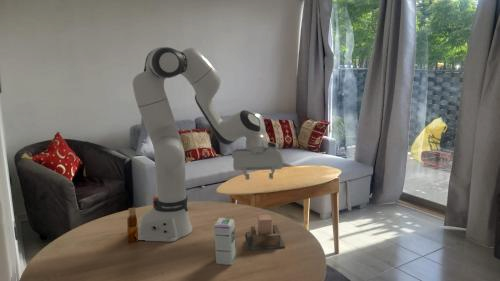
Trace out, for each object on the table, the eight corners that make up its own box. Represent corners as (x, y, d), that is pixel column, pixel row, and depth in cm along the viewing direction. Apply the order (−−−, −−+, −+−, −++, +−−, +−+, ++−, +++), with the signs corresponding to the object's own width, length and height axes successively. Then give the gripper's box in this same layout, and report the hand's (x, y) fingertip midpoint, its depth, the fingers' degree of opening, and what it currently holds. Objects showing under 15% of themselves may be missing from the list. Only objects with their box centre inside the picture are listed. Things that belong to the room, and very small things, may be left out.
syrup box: (232, 265, 130) (231, 225, 127) (215, 263, 131) (213, 224, 128) (236, 256, 135) (235, 218, 132) (220, 255, 137) (218, 217, 133)
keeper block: (259, 242, 144) (259, 220, 142) (258, 237, 148) (257, 215, 146) (271, 242, 144) (271, 219, 142) (269, 236, 148) (269, 214, 146)
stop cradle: (249, 250, 140) (248, 238, 139) (246, 233, 152) (246, 222, 151) (284, 247, 141) (284, 236, 140) (279, 231, 153) (279, 220, 152)
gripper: (231, 145, 157) (233, 175, 149) (281, 143, 158) (285, 174, 151) (231, 153, 162) (232, 183, 155) (279, 151, 164) (283, 181, 156)
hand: (259, 178), depth 153 cm, fingers open, 8 cm apart
